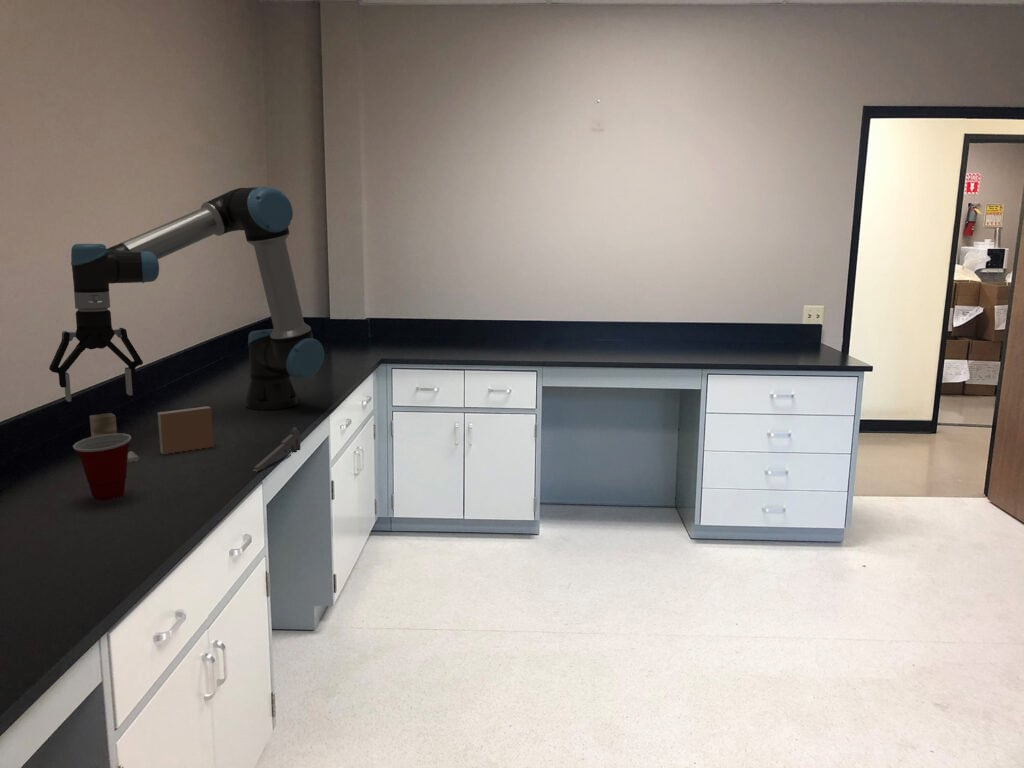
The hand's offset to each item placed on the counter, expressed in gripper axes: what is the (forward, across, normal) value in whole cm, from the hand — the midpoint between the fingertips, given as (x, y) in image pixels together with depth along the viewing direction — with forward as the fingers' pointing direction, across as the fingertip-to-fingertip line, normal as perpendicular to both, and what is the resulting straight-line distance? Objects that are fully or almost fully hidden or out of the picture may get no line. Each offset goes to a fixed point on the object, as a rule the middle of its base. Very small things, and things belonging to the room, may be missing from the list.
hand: (99, 397), depth 207 cm
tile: (+13, +16, -12) cm, 24 cm away
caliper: (+13, +30, -34) cm, 47 cm away
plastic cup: (+13, -8, -38) cm, 41 cm away
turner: (+13, +1, -3) cm, 14 cm away
